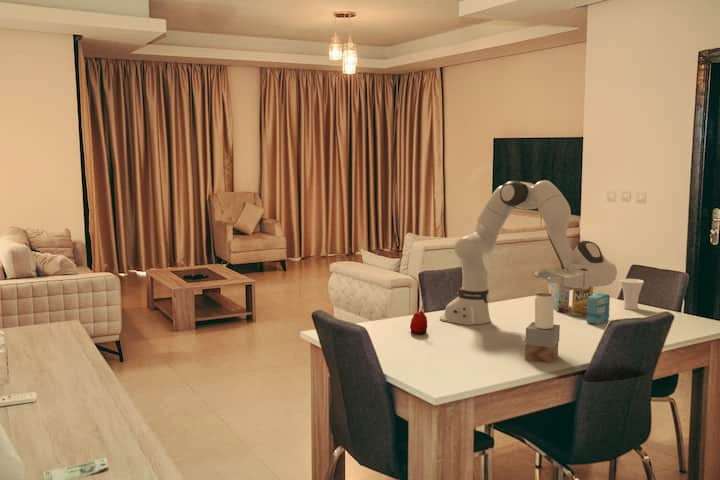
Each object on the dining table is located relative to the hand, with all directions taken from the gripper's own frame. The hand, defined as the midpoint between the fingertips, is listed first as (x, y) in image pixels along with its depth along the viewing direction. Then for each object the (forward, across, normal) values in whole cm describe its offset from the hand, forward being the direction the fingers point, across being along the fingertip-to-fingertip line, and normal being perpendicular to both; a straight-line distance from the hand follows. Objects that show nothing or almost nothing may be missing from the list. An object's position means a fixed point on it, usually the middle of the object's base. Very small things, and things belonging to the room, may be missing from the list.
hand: (541, 277), depth 253 cm
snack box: (-50, -71, +30) cm, 92 cm away
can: (-1, +2, +18) cm, 18 cm away
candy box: (-52, -53, +30) cm, 81 cm away
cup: (-82, -58, +30) cm, 105 cm away
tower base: (-1, 0, +30) cm, 30 cm away
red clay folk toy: (+30, -45, +30) cm, 62 cm away
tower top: (-1, 0, +24) cm, 24 cm away
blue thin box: (-52, -40, +30) cm, 72 cm away
